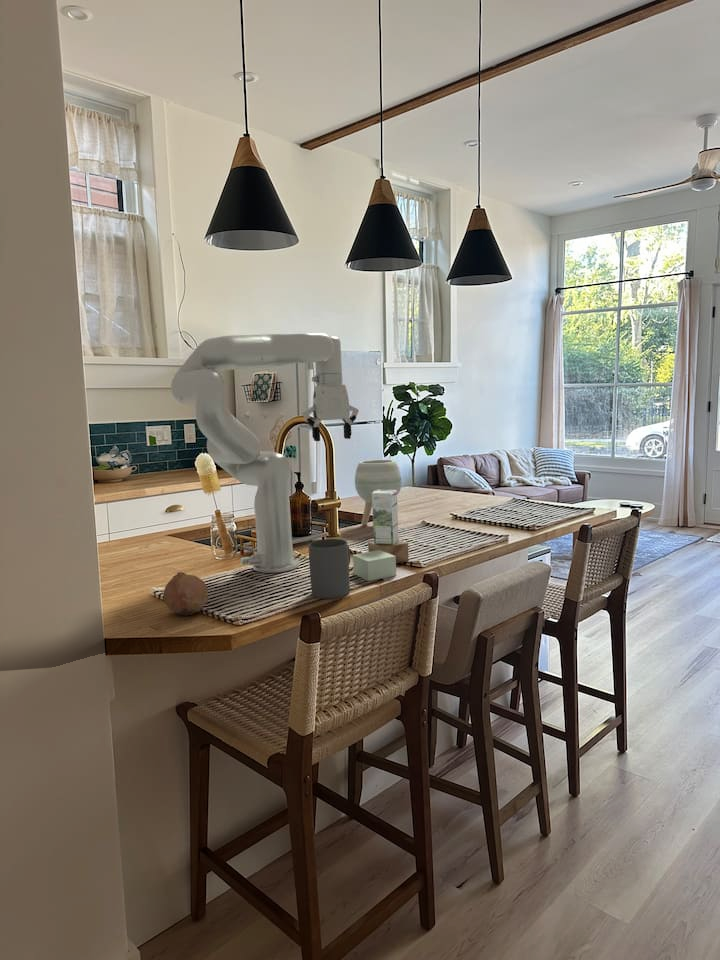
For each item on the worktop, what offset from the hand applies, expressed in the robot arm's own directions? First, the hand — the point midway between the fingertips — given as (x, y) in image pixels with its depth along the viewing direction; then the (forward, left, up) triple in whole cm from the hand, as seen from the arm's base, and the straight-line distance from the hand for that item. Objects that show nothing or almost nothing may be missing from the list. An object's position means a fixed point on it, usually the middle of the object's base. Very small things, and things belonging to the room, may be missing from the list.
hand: (332, 439), depth 191 cm
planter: (+28, +23, -33) cm, 49 cm away
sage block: (-4, -30, -33) cm, 45 cm away
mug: (-18, -36, -33) cm, 52 cm away
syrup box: (+5, -20, -28) cm, 35 cm away
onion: (-52, -31, -33) cm, 69 cm away
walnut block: (+6, -20, -33) cm, 39 cm away
